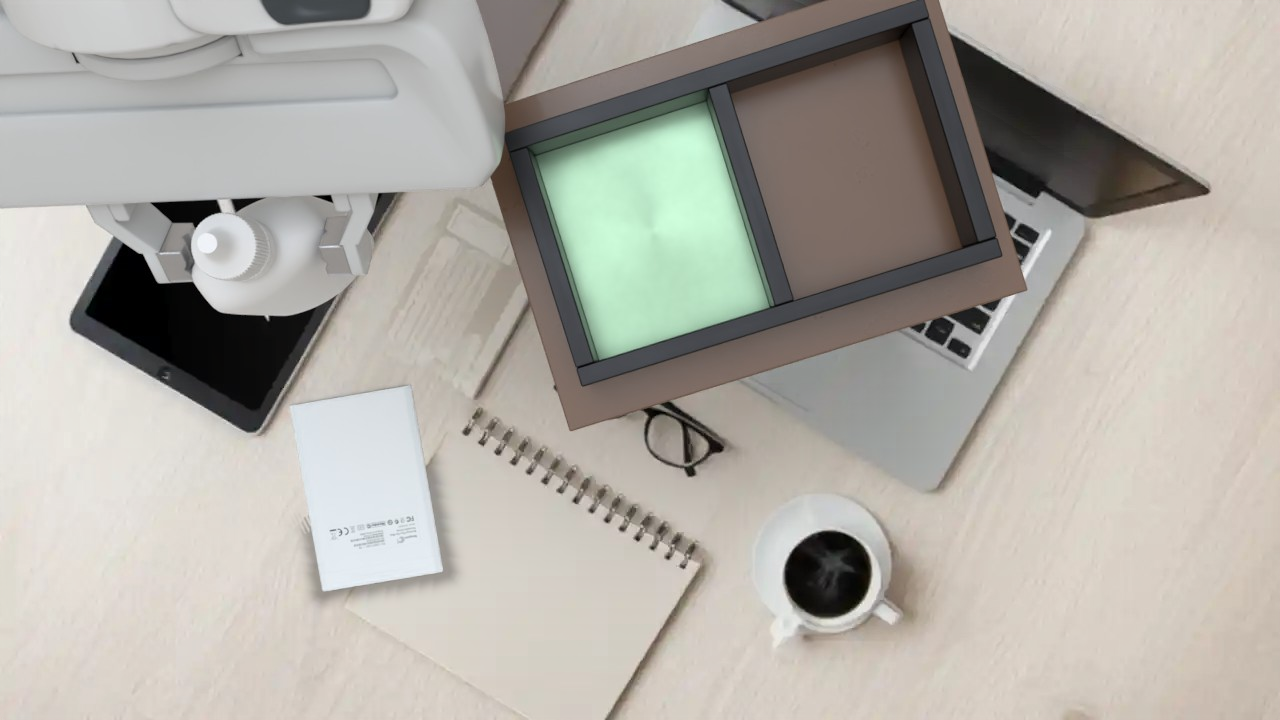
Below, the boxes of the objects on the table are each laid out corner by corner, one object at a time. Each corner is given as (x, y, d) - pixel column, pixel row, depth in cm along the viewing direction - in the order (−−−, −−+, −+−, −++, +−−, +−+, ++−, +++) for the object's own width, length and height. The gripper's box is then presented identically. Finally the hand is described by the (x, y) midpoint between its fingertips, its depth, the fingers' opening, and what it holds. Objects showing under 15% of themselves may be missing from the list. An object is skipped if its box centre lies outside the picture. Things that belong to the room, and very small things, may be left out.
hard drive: (415, 383, 73) (447, 567, 73) (296, 404, 73) (328, 587, 73) (409, 384, 71) (442, 572, 71) (287, 405, 72) (320, 592, 72)
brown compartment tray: (475, 120, 47) (458, 102, 44) (922, -24, 46) (943, -55, 43) (572, 429, 48) (563, 437, 44) (1019, 291, 47) (1048, 288, 43)
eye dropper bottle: (250, 224, 50) (117, 192, 38) (372, 206, 49) (277, 167, 37) (264, 319, 50) (137, 318, 38) (386, 301, 50) (297, 294, 38)
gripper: (-256, -3, 31) (-22, 336, 41) (455, -36, 31) (517, 315, 41) (-150, -100, 36) (39, 228, 46) (476, -131, 35) (527, 207, 45)
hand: (269, 269), depth 43 cm, fingers closed on eye dropper bottle, 5 cm apart
